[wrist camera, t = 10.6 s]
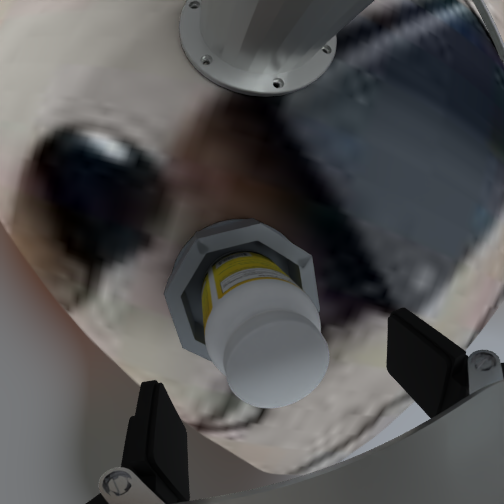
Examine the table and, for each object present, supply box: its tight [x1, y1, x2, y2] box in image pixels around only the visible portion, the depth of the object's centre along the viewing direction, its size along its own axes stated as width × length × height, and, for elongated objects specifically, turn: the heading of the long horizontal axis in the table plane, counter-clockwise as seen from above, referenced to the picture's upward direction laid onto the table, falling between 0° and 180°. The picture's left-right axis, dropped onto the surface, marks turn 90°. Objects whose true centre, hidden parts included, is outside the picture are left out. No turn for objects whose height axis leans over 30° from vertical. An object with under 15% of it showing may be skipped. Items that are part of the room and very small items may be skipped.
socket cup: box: [164, 218, 320, 361], centre depth 22 cm, size 10×10×4 cm
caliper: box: [473, 0, 504, 63], centre depth 19 cm, size 20×1×6 cm, turn 42°
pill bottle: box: [201, 250, 329, 408], centre depth 18 cm, size 6×6×11 cm
